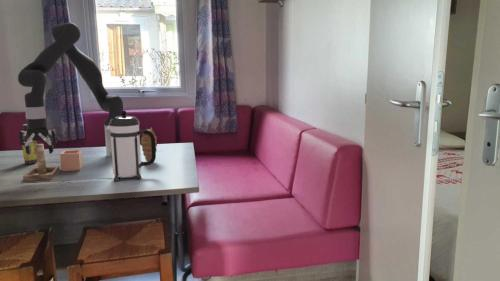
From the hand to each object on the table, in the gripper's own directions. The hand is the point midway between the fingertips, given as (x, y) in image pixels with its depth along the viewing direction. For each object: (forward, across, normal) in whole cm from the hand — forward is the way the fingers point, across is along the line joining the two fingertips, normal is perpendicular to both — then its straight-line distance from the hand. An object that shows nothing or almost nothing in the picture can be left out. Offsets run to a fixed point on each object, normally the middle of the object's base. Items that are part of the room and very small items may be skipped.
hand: (40, 153), depth 165 cm
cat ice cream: (+11, -46, -17) cm, 50 cm away
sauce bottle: (+11, +13, -30) cm, 35 cm away
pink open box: (+11, -10, -10) cm, 18 cm away
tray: (+11, 0, 0) cm, 11 cm away
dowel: (+10, 0, 0) cm, 10 cm away
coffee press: (+11, -38, +8) cm, 40 cm away
